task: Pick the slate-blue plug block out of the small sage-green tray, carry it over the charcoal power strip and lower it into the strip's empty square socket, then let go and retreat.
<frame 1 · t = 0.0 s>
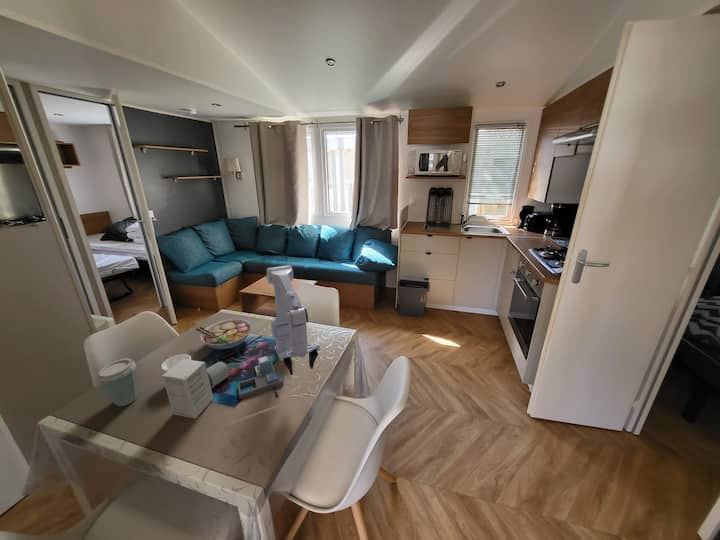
hand: (301, 370, 103), 10 cm above the table, fingers open, 7 cm apart
cup: (181, 381, 111), on the table
tray: (265, 372, 116), on the table
ramen bowl: (229, 343, 135), on the table
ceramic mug: (214, 381, 111), on the table
plug: (265, 371, 116), point 1 cm above the table, touching tray
strip: (260, 386, 108), on the table
disposable coffee cup: (127, 399, 102), on the table
supplement box: (194, 406, 99), on the table
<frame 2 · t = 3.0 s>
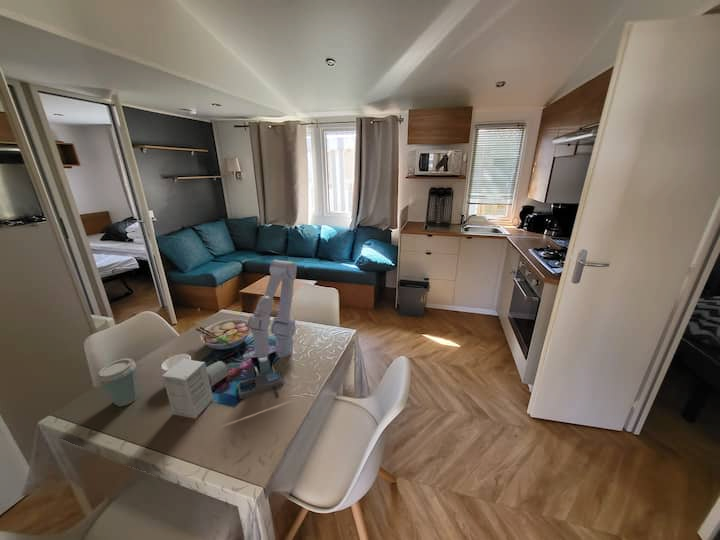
hand: (264, 369, 115), 2 cm above the table, fingers closed on plug, 4 cm apart
plug: (265, 371, 116), point 1 cm above the table, touching gripper, tray
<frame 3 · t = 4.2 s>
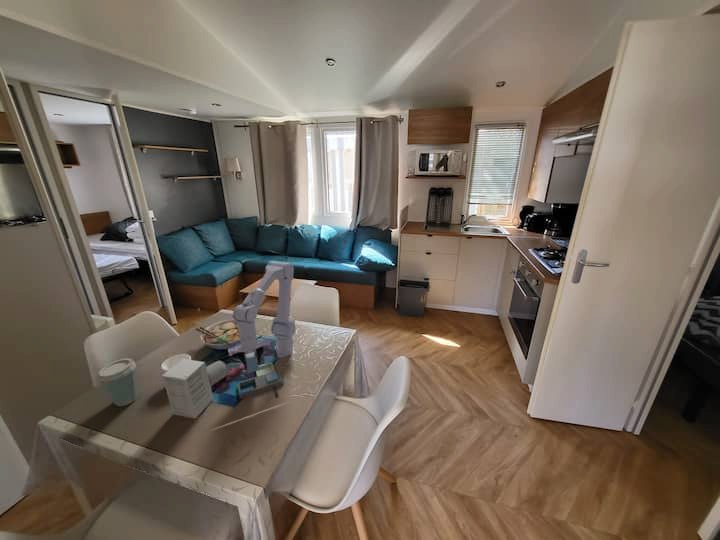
hand: (252, 365, 107), 9 cm above the table, fingers closed on plug, 4 cm apart
plug: (252, 368, 107), point 8 cm above the table, touching gripper
when the fingers open (3 cm above the table, at t = 5.6 s): plug stays where it is, resting on strip.
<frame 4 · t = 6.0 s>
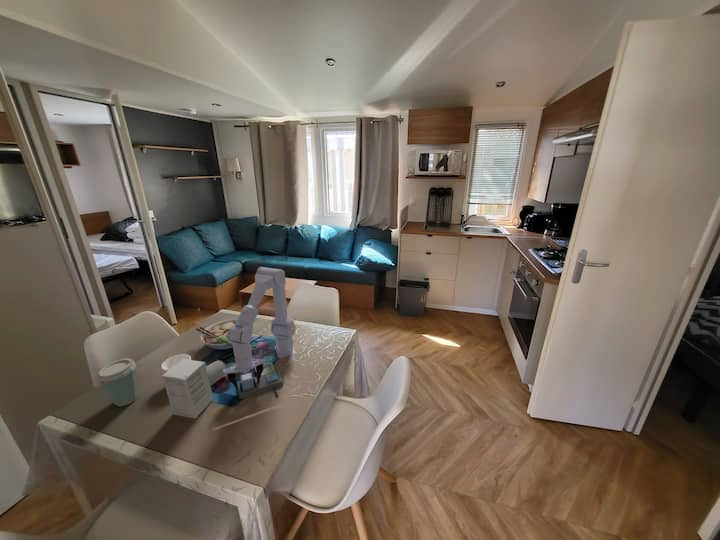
hand: (247, 384, 105), 3 cm above the table, fingers open, 7 cm apart
plug: (248, 389, 106), resting on strip
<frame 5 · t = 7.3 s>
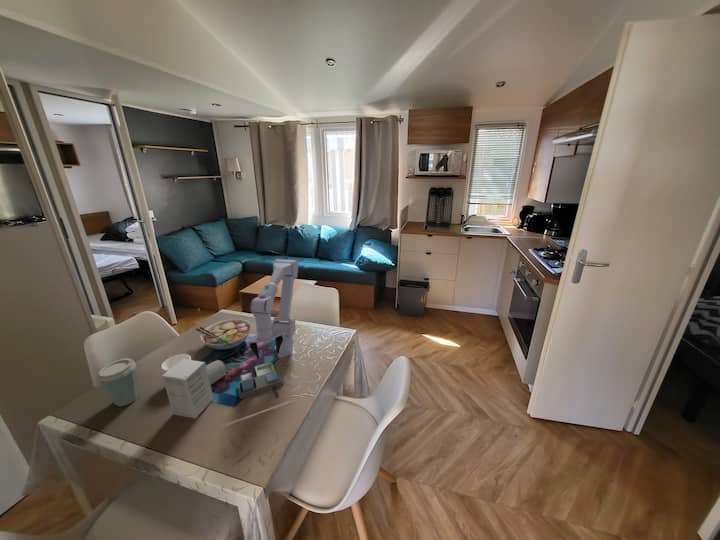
hand: (268, 355, 112), 10 cm above the table, fingers open, 7 cm apart
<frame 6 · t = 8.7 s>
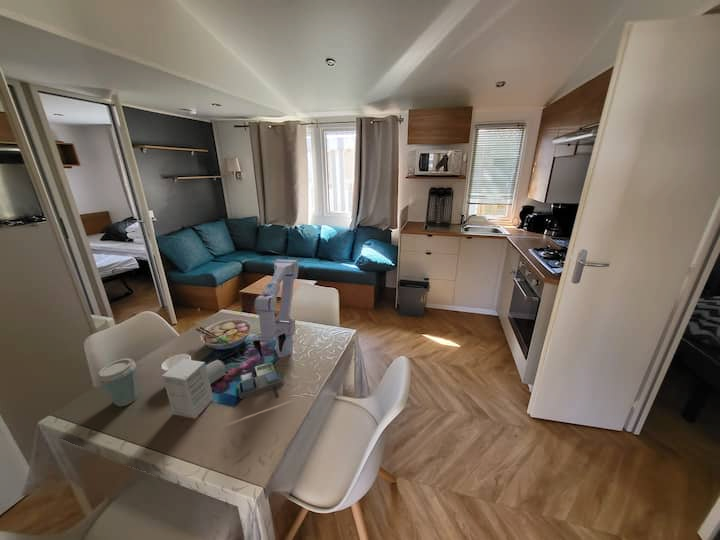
hand: (271, 353, 113), 10 cm above the table, fingers open, 7 cm apart
at the end: plug 0.1 cm from the target spot on the strip, point 0.5 cm above the strip's base; plug tilted 0°; the gripper is holding nothing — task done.
